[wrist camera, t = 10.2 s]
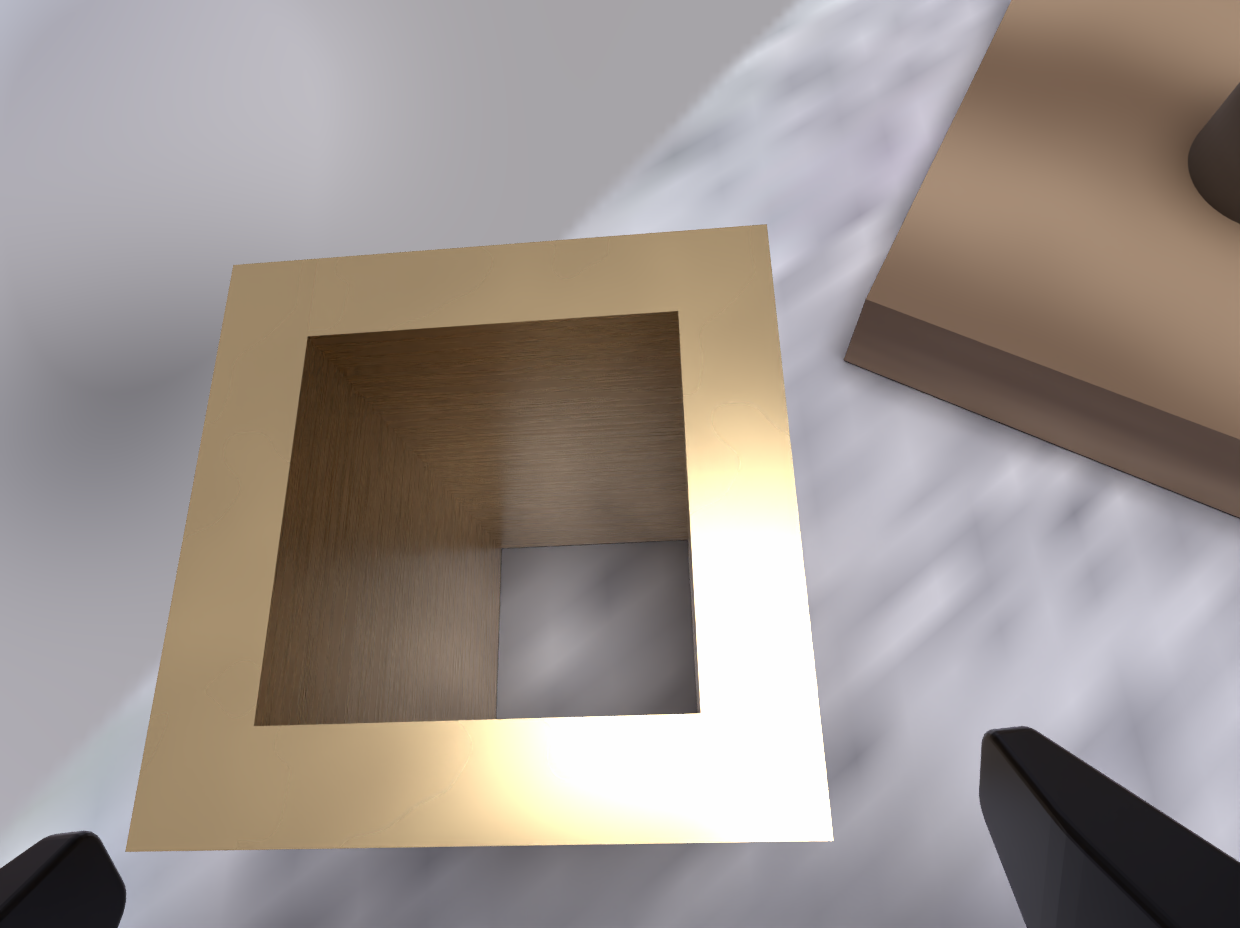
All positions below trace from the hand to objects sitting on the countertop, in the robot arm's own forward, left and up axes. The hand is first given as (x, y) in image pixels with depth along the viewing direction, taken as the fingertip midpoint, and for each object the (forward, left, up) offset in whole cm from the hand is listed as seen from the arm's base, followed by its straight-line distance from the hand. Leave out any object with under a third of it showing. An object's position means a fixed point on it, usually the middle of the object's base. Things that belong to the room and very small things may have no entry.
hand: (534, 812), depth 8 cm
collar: (+2, +2, -8) cm, 8 cm away
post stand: (+16, -6, -8) cm, 19 cm away
